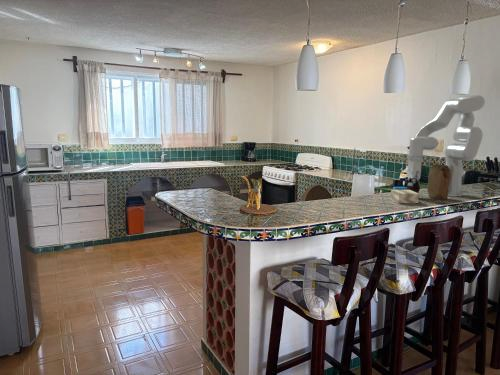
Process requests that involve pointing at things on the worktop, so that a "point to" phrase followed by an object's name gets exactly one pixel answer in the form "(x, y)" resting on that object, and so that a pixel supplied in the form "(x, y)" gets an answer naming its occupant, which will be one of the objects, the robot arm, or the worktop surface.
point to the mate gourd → (410, 186)
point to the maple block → (404, 196)
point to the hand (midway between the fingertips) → (413, 188)
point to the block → (439, 182)
